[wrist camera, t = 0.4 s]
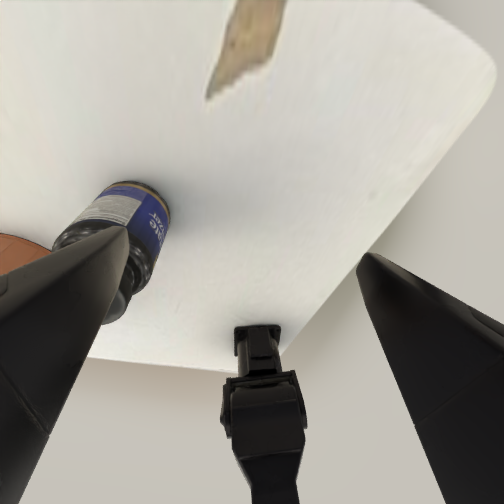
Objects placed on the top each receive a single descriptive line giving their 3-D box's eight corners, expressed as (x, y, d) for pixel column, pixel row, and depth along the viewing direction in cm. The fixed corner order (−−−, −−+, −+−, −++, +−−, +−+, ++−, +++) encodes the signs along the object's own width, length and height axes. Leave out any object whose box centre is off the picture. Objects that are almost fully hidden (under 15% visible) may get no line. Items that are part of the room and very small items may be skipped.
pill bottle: (172, 241, 25) (144, 335, 17) (107, 236, 24) (41, 333, 16) (169, 182, 22) (132, 263, 13) (93, 174, 21) (-3, 255, 12)
